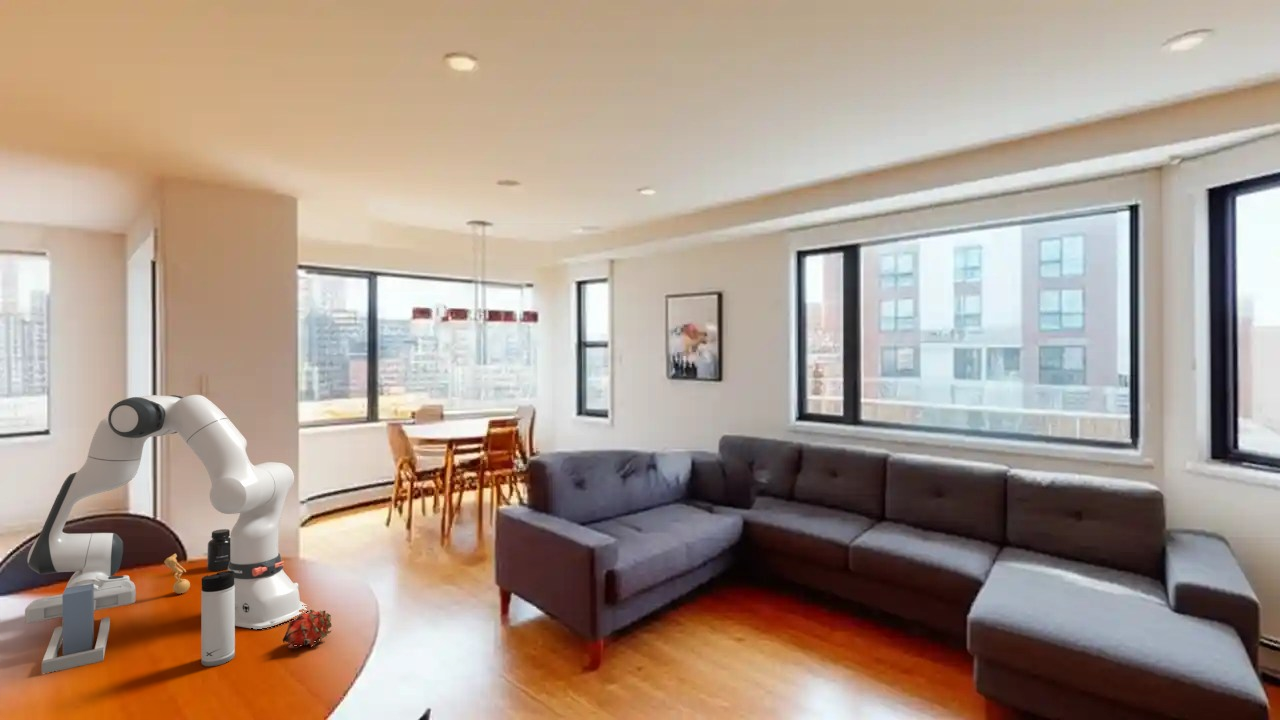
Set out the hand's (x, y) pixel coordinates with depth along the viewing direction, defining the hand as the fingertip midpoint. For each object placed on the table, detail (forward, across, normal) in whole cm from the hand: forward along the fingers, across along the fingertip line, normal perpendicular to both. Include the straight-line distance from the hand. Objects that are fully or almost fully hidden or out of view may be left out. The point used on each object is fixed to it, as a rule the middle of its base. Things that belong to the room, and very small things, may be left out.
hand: (79, 612), depth 146 cm
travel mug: (+29, +26, +8) cm, 39 cm away
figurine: (-23, +19, +8) cm, 31 cm away
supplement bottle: (-42, +30, +8) cm, 52 cm away
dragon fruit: (+33, +43, +8) cm, 55 cm away
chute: (+2, 0, +8) cm, 8 cm away
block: (+2, 0, +8) cm, 8 cm away
